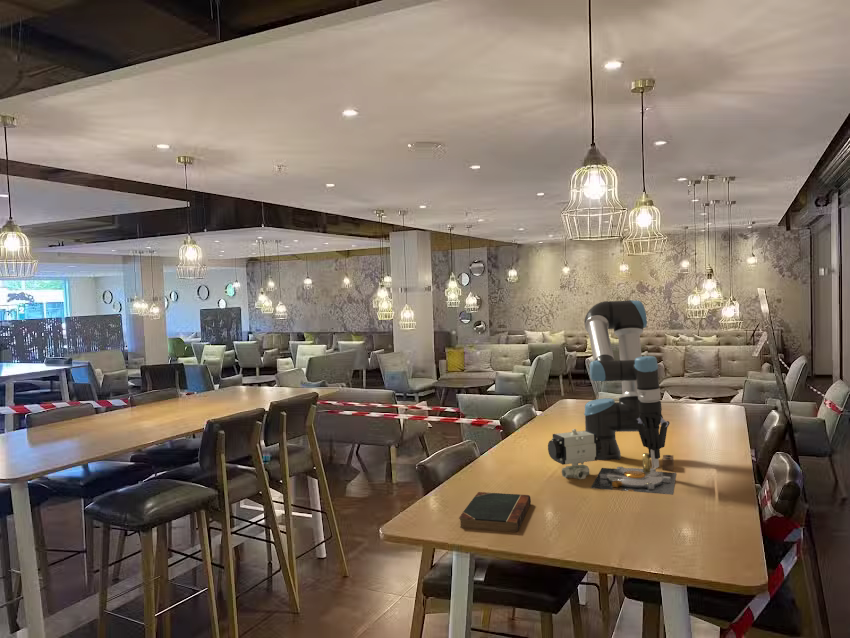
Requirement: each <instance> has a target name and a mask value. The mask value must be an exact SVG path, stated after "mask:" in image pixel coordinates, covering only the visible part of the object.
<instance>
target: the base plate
mask: <svg viewBox="0 0 850 638" xmlns="http://www.w3.org/2000/svg"><path fill="white" fill-rule="evenodd" d="M615 469H616V468H611V467H610V468H609V467H601V468H600V470H599V472H598V474H597V475H596V477H595V479H594V481H593V483H592V484H591V487H590V489H595V490H596V489H599V490H609V491H622V492H636V493H648V494H649V493H650V494H658V495H659V494H660V495H671V496H673V495H674V493H675V492H674V491H675V485H676V478H677V472H672V471H669V472H668V471H657V472H658V473H660V474H662V475H663V476H668V477H670V480H671V482H670V483H668V482H663V483H662V484H660V485H658V486H654V489H647V488H635V487H625V486H620V487H613V486H612V483H611V482H609V481H608V480H607V479H604V478H600V473H608V472H609V471H612V470H615Z"/></svg>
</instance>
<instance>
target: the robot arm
mask: <svg viewBox="0 0 850 638" xmlns="http://www.w3.org/2000/svg"><path fill="white" fill-rule="evenodd" d="M647 320H648V319H647V313H646V308H645V306H644V304H643V302H642V301H640V300H635V299H633V300H631V299H629V300H611V301H610V300H607V301H601V302H598V303H595V304H594V305H593V306H592V307H591V308H589V310H588V311H587V313H586V315H585V317H584V323H583V324H584V329H585V331H586V332H587V333H588V337H589V342H590V347H591V354H592V358H593V359H592V361H591V362H589V375H590V376H589V377H590V380H591V381H593V382H602V383H603V382H620V381H621V389H622V390H621V391H622V394H621V395H620V396H619V397H618V402H616V401H615V399H614V398H606V397H605V398H597V399H593V400H590V401H588V402H586V404H585V406H584V413H583V414H584V419H585V420H584V425H585V427H584V428H585V430H584V431H589V432H591V433H594V434H596V436H598V437H599V439H600V441H601V445H602V450H601V452H600V454H598V457H597V461H609V460H611V461H612V460H613V461H619V460H620V459H621V458H622V457H621V454H622V453H621V450H620V447H619V445H618V442H617V439H616V438H617V437H616V433H617V432H619V433H620V432H621V433H623V432H629V433H630V432H632V433H633V432H636V433H637V432H638V434H639V437H640V441H641V443H642V446H643V447H644V448H647V449H648V454H649V457H650V463H651V468H652V469H657V468H660V458H661V451H660V449H662V448H665V445H666V439H667V432H668V427H669V425H670V424H671V423H670V421H669V420H665V419H664V417H663V416H664V415H663V414H662V411H663V410H662V401H661V399H662V398H661V396H662V395H661V387H660V379H659V378H660V377H659V364H658V359H657V357H655V356H654V355H653V356H652V355H644V356H642V347H641V345H642V344H641V335H642V334H643V333H644V329H646V327H647V325H648V321H647ZM609 330H613V334H614V335H615V336H616V337H618V338H617V339H618V353H619V360H615V356H614V351H613V348H612V344H611V343H612V342H611V338H610V334H609Z"/></svg>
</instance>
